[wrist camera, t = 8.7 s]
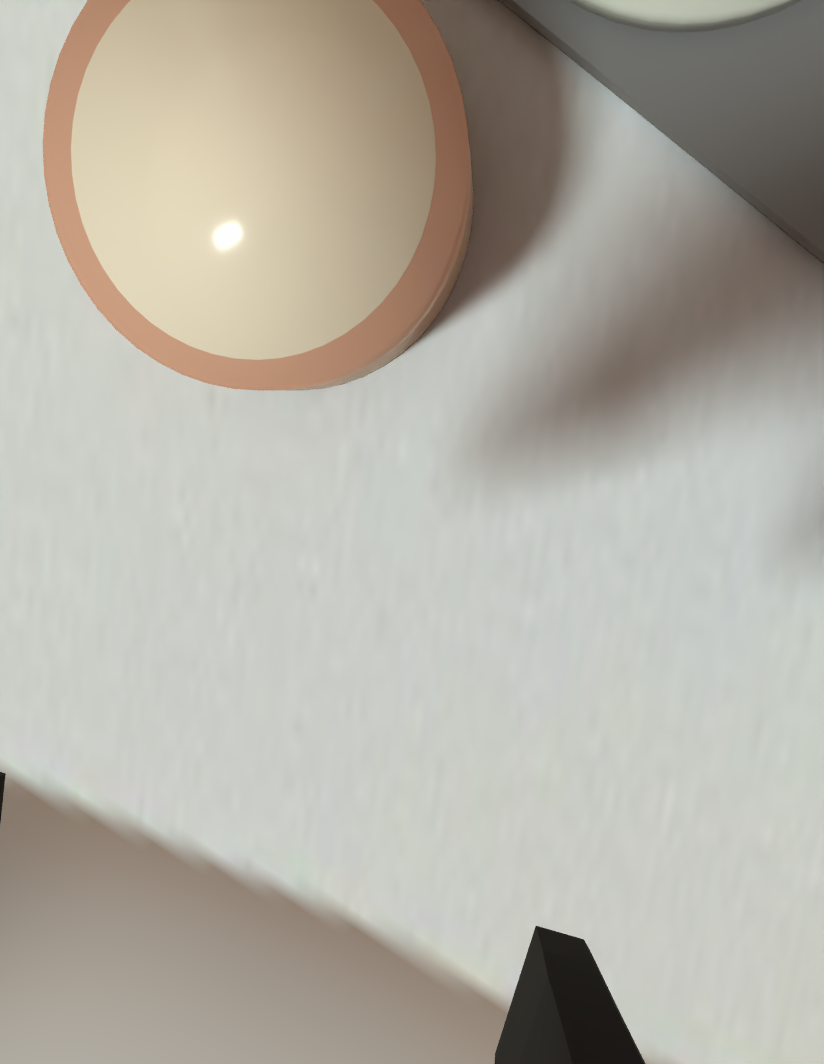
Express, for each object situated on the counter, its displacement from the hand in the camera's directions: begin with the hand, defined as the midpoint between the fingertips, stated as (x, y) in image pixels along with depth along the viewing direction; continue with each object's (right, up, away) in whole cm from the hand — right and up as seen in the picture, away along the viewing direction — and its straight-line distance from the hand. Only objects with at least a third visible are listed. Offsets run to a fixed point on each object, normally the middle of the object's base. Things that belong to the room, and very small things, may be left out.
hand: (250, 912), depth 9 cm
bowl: (-1, +12, +7) cm, 14 cm away
